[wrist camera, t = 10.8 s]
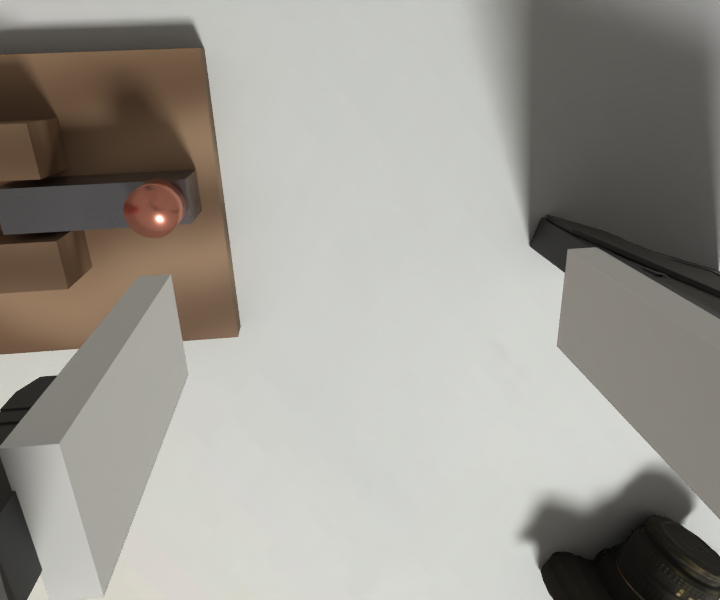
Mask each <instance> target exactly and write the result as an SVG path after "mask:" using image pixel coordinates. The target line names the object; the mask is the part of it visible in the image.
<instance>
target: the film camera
mask: <svg viewBox="0 0 720 600" xmlns="http://www.w3.org/2000/svg"><path fill="white" fill-rule="evenodd" d="M541 574H542V578H543V581H544V583H545V585H546V588H547V590H548V592H549V594H550V595H551V597H552V598H553V600H719V599H720V556H719V555H718V554H717V553H716V552H715V551H714V550H713V549H711V548H710V547H709V546H708V545H707V544H706V543H705V542H704V541H703V540H702V539H700V538H699V537H698V536H696V535H695V534H693V533H692V532H690V531H689V530H687V529H686V528H684V527H683V526H681V525H680V524H678V523H676V522H674V521H672V520H670V519H668V518H665V517H661V516H656V515H653V516H651V517H650V519H649V520H648V522H647V523H646V524H645V525H644V526H643V527H639V528H637V529H636V530H635V531H633V533H632V534H631V536H629V537H628V538H627V539H625V540H624V541H623V543H622V544H621V545H619V546H616V547H614V548H612V549H603V550H602V551H600V552H599V553H598V554H597V556H596V557H595V558H594V560H592V561H589V560H587V559H585V558H583V557H581V556H576V555H574V554H572V553H569V552H556V553H554V554H553V555H552V556H551V558H550V559H549V560H548V562H547V564H545V565H544V566H543V568H542V571H541Z"/></svg>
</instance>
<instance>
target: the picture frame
mask: <svg viewBox="0 0 720 600" xmlns="http://www.w3.org/2000/svg"><path fill="white" fill-rule="evenodd" d="M530 247H531V248H533V249H534V250H535V251H537V252H538V253H539V254H541V255H542V256H543V257H545V258H546V259H547V260H549V261H550V262H551V263H553V264H554V265H555V266H557V267H558V268H559V269H561V270H562V271H563V272H565V269H566V260H567V251H568V249H578V248H593V247H597V248H599V249H600V250H602V251H604V252H606V253H607V254H609V255H611V256H612V257H614V258H616V259H618V260H619V261H621V262H623V263H624V264H626V265H628V266H630V267H631V268H633V269H635V270H636V271H638V272H640V273H642V274H643V275H645V276H647V277H648V278H650V279H652V280H654V281H655V282H657V283H659V284H660V285H662V286H664V287H666V288H667V289H669V290H671V291H672V292H674V293H676V294H678V295H679V296H681V297H683V298H684V299H686V300H688V301H690V302H691V303H693V304H695V305H696V306H698V307H700V308H701V309H703V310H705V311H707V312H708V313H710V314H712V315H713V316H715V317H717V318H719V319H720V271H717V270H714V269H711V268H707V267H704V266H701V265H697V264H694V263H691V262H687V261H684V260H681V259H677V258H674V257H671V256H667V255H664V254H661V253H657V252H654V251H651V250H647V249H645V248H642V247H640V246H638V245H635V244H633V243H631V242H629V241H626V240H624V239H622V238H619V237H617V236H615V235H612V234H610V233H608V232H605V231H601V230H598V229H595V228H591V227H588V226H584V225H581V224H578V223H574V222H571V221H567V220H564V219H561V218H557V217H554V216H550V215H548V216H547V218H546V219H544V218H541V220H540V223H539V225H538V227H537V230H536V232H535V234H534V237H533V239H532V241H531V244H530Z"/></svg>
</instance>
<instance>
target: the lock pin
mask: <svg viewBox="0 0 720 600" xmlns="http://www.w3.org/2000/svg"><path fill="white" fill-rule="evenodd" d="M201 211H202V208H201V201H200V194H199V187H198V180H197V174H196V170H180V171H160V172H141V173H121V174H101V175H82V176H62V177H45V178H43V179H38V180H18V181H12V182H10V183H7V184H4V185H2V186H0V225H1V228H2V232H3V235H10V234H27V233H44V232H61V231H79V230H96V229H113V228H130V227H131V228H132V230H134V231H135V232H136V233H138V234H139V235H141V236H144V237H147V238H161V237H164V236H166V235H168V234H169V233H171V232H172V231H173V229H174V228H175V227H176V226H177V225H182V224H192V223H193V222H194V220H195V219H196V218H197V216H198V215H199V214H200V212H201Z"/></svg>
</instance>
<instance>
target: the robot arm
mask: <svg viewBox="0 0 720 600" xmlns="http://www.w3.org/2000/svg"><path fill="white" fill-rule="evenodd" d="M557 347H558V348H559V349H560V350H561V351H562V352H563V353H564V354H565V355H566V356H567V357H568V358H569V359H570V361H571V362H572V363H573V364H574V365H575V366H576V367H577V368H578V369H579V370H580V371H581V372H582V373H583V374H584V375H585V376H586V378H587V379H588V380H589V381H590V382H591V383H592V384H593V385H594V386H595V387H596V388H597V389H598V390H599V391H600V392H601V394H602V395H603V396H604V397H605V398H606V399H607V400H608V401H609V402H610V403H611V404H612V405H613V406H614V407H615V408H616V409H617V411H618V412H619V413H620V414H621V415H622V416H623V417H624V418H625V419H626V420H627V421H628V422H629V423H630V424H631V425H632V426H633V428H634V429H635V430H636V431H637V432H638V433H639V434H640V435H641V436H642V437H643V438H644V439H645V440H646V441H647V442H648V443H649V445H650V446H651V447H652V448H653V449H654V450H655V451H656V452H657V453H658V454H659V455H660V456H661V457H662V458H663V459H664V460H665V462H666V463H667V464H668V465H669V466H670V467H671V468H672V469H673V470H674V471H675V472H676V473H677V474H678V475H679V476H680V477H681V479H682V480H683V481H684V482H685V483H686V484H687V485H688V486H689V487H690V488H691V489H692V490H693V491H694V492H695V493H696V495H697V496H698V497H699V498H700V499H701V500H702V501H703V502H704V503H705V504H706V505H707V506H708V507H709V508H710V509H711V510H712V512H713V513H714V514H715V515H716V516H717V517H718V518H719V519H720V319H719V318H717V317H715V316H713V315H712V314H710V313H708V312H707V311H705V310H703V309H701V308H700V307H698V306H696V305H695V304H693V303H691V302H690V301H688V300H686V299H684V298H683V297H681V296H679V295H678V294H676V293H674V292H672V291H671V290H669V289H667V288H666V287H664V286H662V285H660V284H659V283H657V282H655V281H654V280H652V279H650V278H648V277H647V276H645V275H643V274H642V273H640V272H638V271H636V270H635V269H633V268H631V267H630V266H628V265H626V264H624V263H623V262H621V261H619V260H618V259H616V258H614V257H612V256H611V255H609V254H607V253H606V252H604V251H602V250H600V249H599V248H597V247H593V248H578V249H568V251H567V260H566V269H565V278H564V286H563V295H562V304H561V313H560V322H559V331H558V340H557ZM187 377H188V369H187V364H186V358H185V352H184V346H183V341H182V335H181V329H180V324H179V318H178V312H177V306H176V301H175V295H174V289H173V283H172V278H171V274H168V275H153V276H138V277H137V279H136V280H135V281H134V282H133V284H132V285H131V286H130V287H129V288H128V290H127V291H126V292H125V293H124V295H123V296H122V297H121V298H120V299H119V301H118V302H117V303H116V304H115V306H114V307H113V308H112V309H111V311H110V312H109V313H108V314H107V315H106V317H105V318H104V319H103V320H102V322H101V323H100V324H99V325H98V326H97V328H96V329H95V330H94V331H93V333H92V334H91V335H90V336H89V338H88V339H87V340H86V341H85V342H84V344H83V345H82V346H81V347H80V349H79V350H78V351H77V352H76V353H75V355H74V356H73V357H72V358H71V360H70V361H69V362H68V363H67V364H66V366H65V367H64V368H63V369H62V371H61V372H60V373H59V374H58V376H45V377H39V378H38V379H36V380H35V381H33V382H31V383H30V384H28V385H27V386H25V387H23V388H22V389H20V390H19V391H17V392H16V393H15V394H14V395H13V396H12V397H11V398H10V399H9V400H8V401H7V403H6V404H5V405H4V406H3V407H2V408H1V409H0V600H27V598H28V597H29V595H30V593H31V591H32V589H33V587H34V585H35V583H36V581H37V579H38V578H39V576H40V574H41V577H42V579H43V582H44V585H45V588H46V591H47V594H48V597H49V600H78V599H87V598H97V597H104V595H105V592H106V590H107V587H108V584H109V582H110V579H111V576H112V574H113V571H114V569H115V566H116V563H117V561H118V558H119V555H120V553H121V550H122V547H123V545H124V542H125V540H126V537H127V534H128V532H129V529H130V526H131V524H132V521H133V519H134V516H135V513H136V511H137V508H138V505H139V503H140V500H141V498H142V495H143V492H144V490H145V487H146V484H147V482H148V479H149V477H150V474H151V471H152V469H153V466H154V463H155V461H156V458H157V456H158V453H159V450H160V448H161V445H162V442H163V440H164V437H165V435H166V432H167V429H168V427H169V424H170V421H171V419H172V416H173V414H174V411H175V408H176V406H177V403H178V400H179V398H180V395H181V392H182V390H183V387H184V385H185V382H186V379H187Z"/></svg>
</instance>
